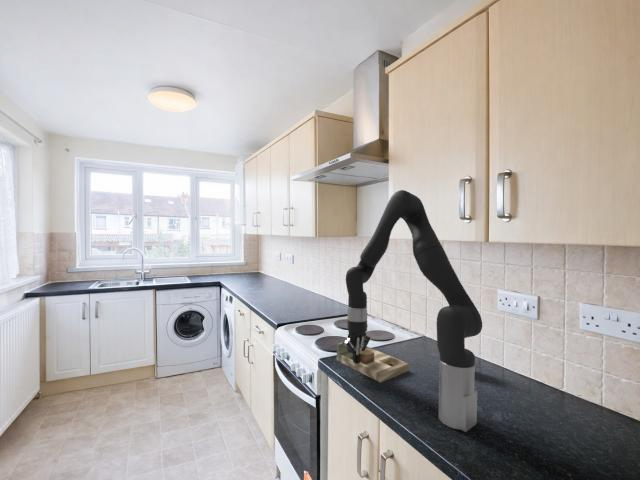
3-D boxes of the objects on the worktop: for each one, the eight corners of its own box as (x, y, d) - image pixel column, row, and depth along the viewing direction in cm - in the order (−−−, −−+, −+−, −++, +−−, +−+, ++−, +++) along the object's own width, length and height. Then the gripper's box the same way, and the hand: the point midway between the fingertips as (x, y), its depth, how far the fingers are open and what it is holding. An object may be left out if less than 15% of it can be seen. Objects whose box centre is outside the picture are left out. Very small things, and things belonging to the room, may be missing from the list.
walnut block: (374, 361, 123) (374, 352, 123) (365, 364, 120) (365, 355, 120) (364, 357, 127) (365, 348, 127) (356, 360, 124) (356, 351, 124)
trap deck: (408, 371, 121) (408, 353, 121) (380, 382, 112) (380, 363, 112) (363, 351, 141) (363, 336, 141) (336, 360, 131) (336, 343, 131)
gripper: (362, 313, 126) (361, 355, 127) (337, 318, 118) (337, 364, 119) (376, 317, 121) (375, 362, 121) (351, 323, 112) (350, 371, 113)
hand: (356, 362), depth 120 cm, fingers closed
